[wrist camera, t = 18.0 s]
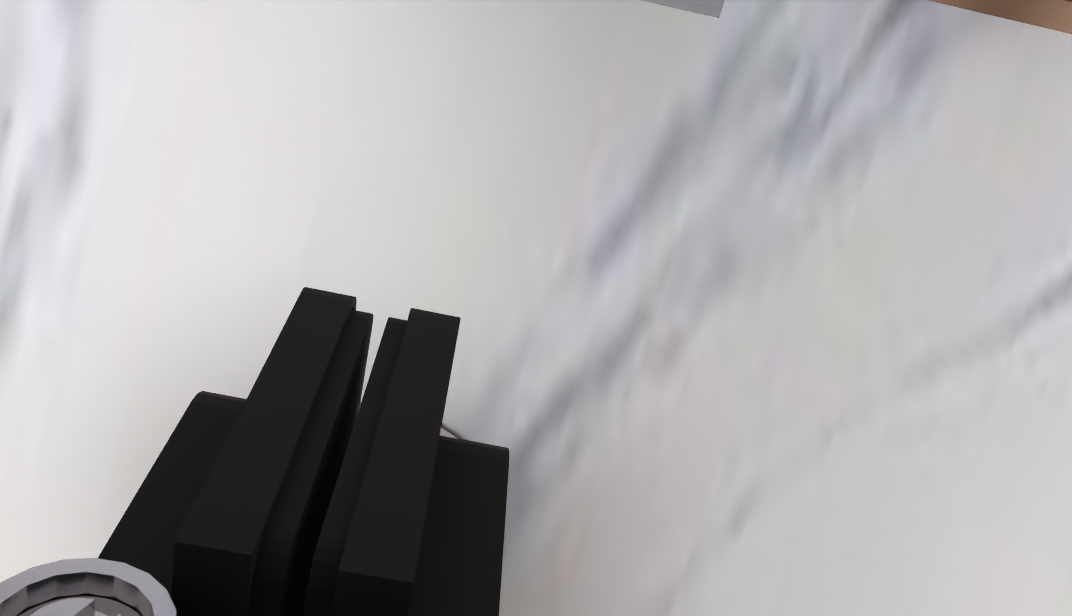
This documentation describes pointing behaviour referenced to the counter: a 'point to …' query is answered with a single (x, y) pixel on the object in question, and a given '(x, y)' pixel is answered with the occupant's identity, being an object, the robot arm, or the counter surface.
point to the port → (694, 5)
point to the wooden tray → (1023, 11)
